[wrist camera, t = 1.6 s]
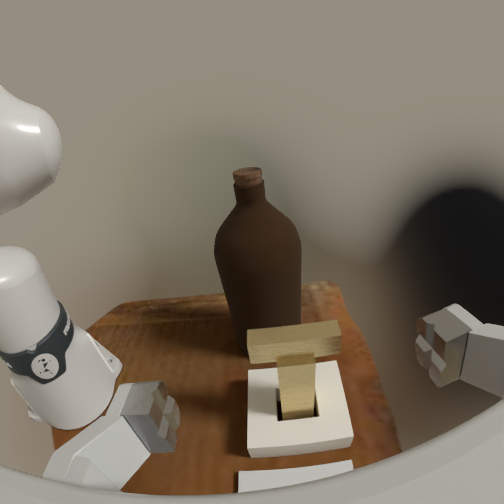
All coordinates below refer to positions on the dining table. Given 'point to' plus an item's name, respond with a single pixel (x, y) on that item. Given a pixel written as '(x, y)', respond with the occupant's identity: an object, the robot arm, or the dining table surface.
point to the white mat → (289, 476)
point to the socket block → (299, 430)
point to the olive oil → (258, 260)
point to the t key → (295, 360)
